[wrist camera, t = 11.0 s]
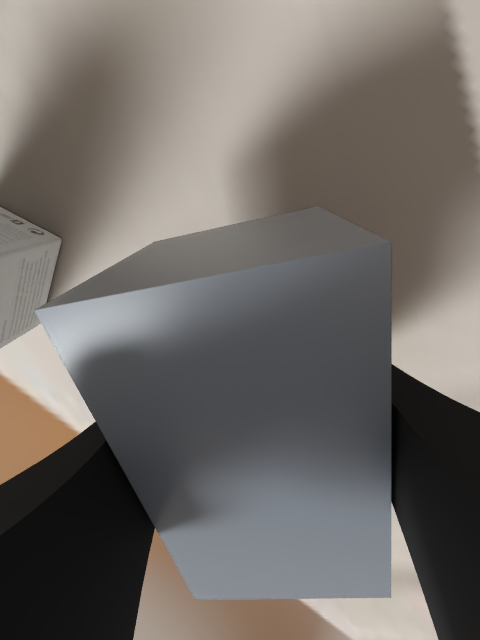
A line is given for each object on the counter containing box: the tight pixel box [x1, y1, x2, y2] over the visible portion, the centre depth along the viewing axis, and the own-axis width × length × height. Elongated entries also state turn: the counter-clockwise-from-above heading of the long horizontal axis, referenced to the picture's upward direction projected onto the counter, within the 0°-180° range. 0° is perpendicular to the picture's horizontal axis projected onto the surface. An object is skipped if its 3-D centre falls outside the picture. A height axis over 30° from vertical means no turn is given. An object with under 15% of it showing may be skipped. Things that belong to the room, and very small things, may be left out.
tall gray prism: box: [34, 206, 392, 600], centre depth 10 cm, size 10×6×6 cm, turn 12°
